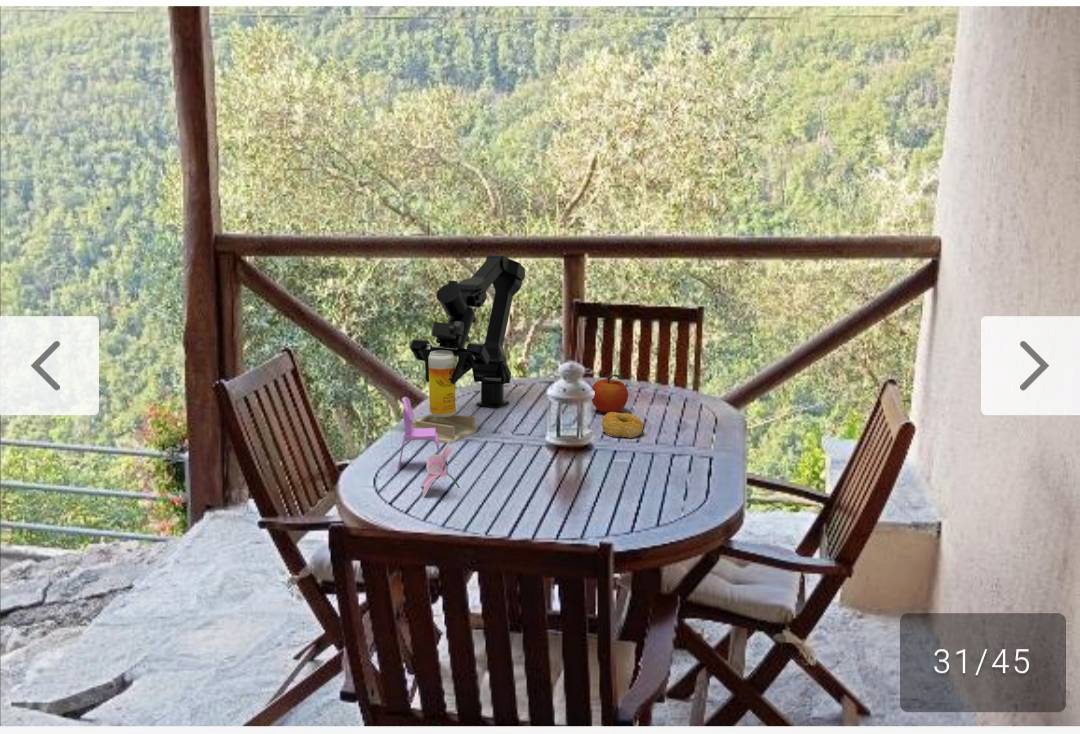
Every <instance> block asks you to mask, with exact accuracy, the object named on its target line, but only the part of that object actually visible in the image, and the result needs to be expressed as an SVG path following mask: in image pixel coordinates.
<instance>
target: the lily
mask: <svg viewBox="0 0 1080 734" xmlns="http://www.w3.org/2000/svg"><path fill="white" fill-rule="evenodd" d="M449 442H450V441H449ZM449 442H448V443H445V446H444V448H443V449H442V450H441V453H440V454H439V455H437V454H431V455H430V456H428V458H427V461H426V471H427V472H428V474H427V475H426V476H425V477H424V479H423V481H422V483H420V488H422V487H423V490H422V499H423V498H425V496H426V495H427V492H428V490H429V489H430V487H431V485H432V484H433V483H434V481H436V480H442V479H443V480H444V479H445V478H447V476H449V478H450V479H452V481H453V482H454V483H455V485H456V486H457V488H458V489H460V485H459V484H458V482H457V481H456V480H455V478H454V477H453V476H451V474H450V473H449V469H448V467H449V465H448V458H449V457H450V456H451V454H452V452H454V450H455V449H456V447H457V445H456V444H455V445H452V446H450V443H449ZM449 446H450V447H449Z"/></svg>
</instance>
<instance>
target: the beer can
mask: <svg viewBox="0 0 1080 734" xmlns="http://www.w3.org/2000/svg"><path fill="white" fill-rule="evenodd" d="M428 362H429V382H428V390H429V412H430V414H432V415H433V416H435V417H449V416H452V415H453V414H455V413H456V410H457V407H456V383H455V384H452V383H451V379H452V375H453V373H454V370H455V367H456V364H455V363H456V362H455V356H454V355H453V352H452V351H448V350H437V351H432V352H430V355H429V357H428Z"/></svg>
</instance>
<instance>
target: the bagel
mask: <svg viewBox="0 0 1080 734" xmlns="http://www.w3.org/2000/svg"><path fill="white" fill-rule="evenodd" d="M601 426H602V431H603V433H604V432H605V433H606V434H605V433H604V434H605V435H607V434H609V435H612V436H618V437H617V438H623V437H627V438H626V439H634V438H636V437H639V436H640V435H642V432H643V429H644V426H645V425H644V423H643V422H642V421H641V419H639V417H638V416H637V415H636V414H635V415H634V414H631V413H628V412H627V413H626V412H625V413H622V412H617V413H616V412H609V413H605V415H604V416H603V418H602V422H601ZM609 435H608V436H609ZM612 436H611V437H612Z"/></svg>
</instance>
